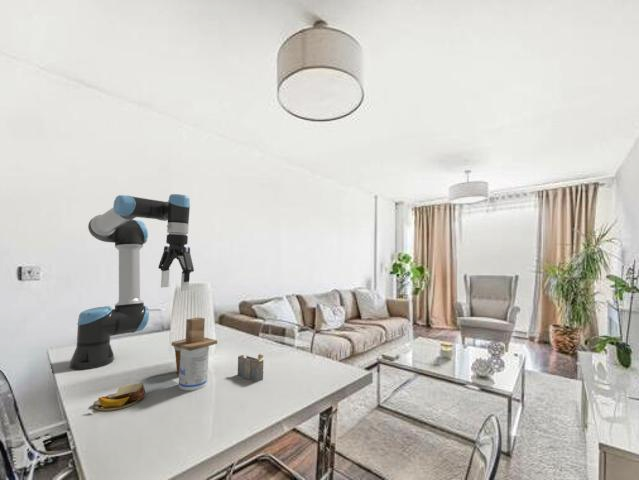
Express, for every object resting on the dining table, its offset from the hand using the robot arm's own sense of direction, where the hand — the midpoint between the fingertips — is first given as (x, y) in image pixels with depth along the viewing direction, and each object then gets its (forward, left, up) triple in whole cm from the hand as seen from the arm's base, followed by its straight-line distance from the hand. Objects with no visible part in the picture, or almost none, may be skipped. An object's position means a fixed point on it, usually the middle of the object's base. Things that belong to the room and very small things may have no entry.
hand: (174, 288), depth 120 cm
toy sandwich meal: (+6, -20, -34) cm, 40 cm away
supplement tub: (+14, +1, -34) cm, 37 cm away
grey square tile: (+2, -7, -34) cm, 35 cm away
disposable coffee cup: (0, +7, -34) cm, 35 cm away
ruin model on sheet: (+24, +19, -35) cm, 46 cm away
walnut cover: (+14, +1, -19) cm, 23 cm away
